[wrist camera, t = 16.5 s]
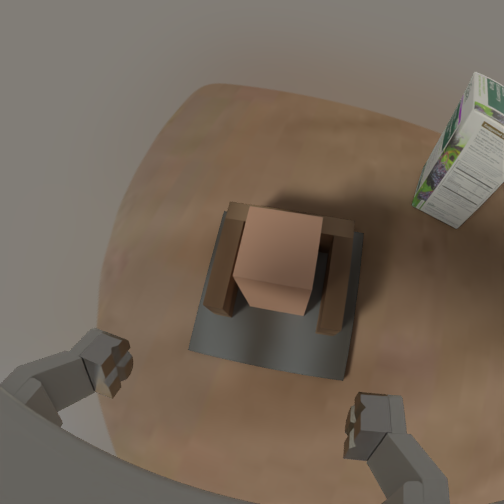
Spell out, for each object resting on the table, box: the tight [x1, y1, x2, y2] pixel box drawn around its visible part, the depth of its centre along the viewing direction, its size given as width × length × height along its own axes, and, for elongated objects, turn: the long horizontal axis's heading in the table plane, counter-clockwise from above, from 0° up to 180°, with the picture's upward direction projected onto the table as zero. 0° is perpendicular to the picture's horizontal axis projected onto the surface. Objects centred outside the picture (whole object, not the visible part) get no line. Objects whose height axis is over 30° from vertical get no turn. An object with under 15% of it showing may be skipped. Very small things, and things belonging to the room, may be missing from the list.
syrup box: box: [412, 72, 504, 229], centre depth 22 cm, size 6×6×14 cm
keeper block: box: [233, 206, 323, 316], centre depth 23 cm, size 4×4×9 cm
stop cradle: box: [188, 202, 364, 381], centre depth 25 cm, size 13×13×5 cm
